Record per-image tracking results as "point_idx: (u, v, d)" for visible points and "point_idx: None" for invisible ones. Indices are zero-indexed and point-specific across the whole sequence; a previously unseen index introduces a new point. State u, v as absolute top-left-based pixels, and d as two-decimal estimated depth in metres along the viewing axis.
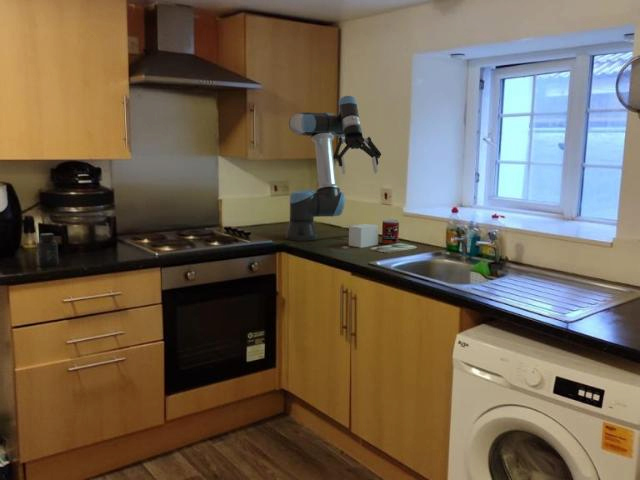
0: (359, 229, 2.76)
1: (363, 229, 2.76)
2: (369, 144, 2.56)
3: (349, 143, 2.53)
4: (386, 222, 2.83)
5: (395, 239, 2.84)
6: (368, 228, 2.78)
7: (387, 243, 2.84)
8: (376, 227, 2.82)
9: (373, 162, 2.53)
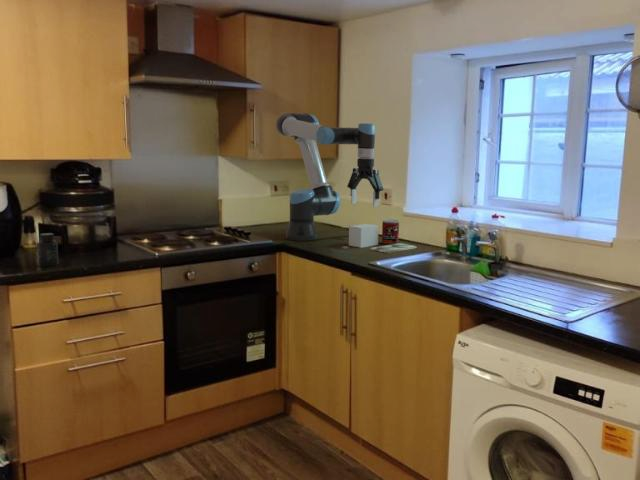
0: (359, 229, 2.76)
1: (363, 229, 2.76)
2: None
3: (358, 176, 2.78)
4: (386, 222, 2.83)
5: (395, 239, 2.84)
6: (368, 228, 2.78)
7: (387, 243, 2.84)
8: (376, 227, 2.82)
9: None
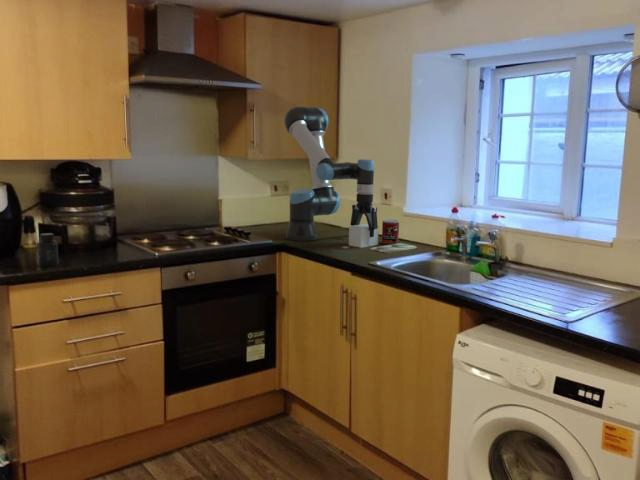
0: (359, 229, 2.76)
1: (363, 229, 2.76)
2: None
3: (358, 212, 2.81)
4: (386, 222, 2.83)
5: (395, 239, 2.84)
6: (368, 228, 2.78)
7: (387, 243, 2.84)
8: None
9: None
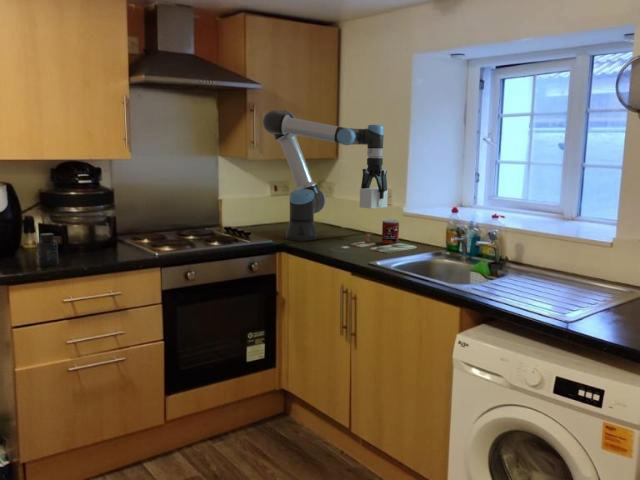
0: (369, 191, 2.90)
1: (373, 191, 2.90)
2: None
3: (368, 175, 2.95)
4: (386, 222, 2.83)
5: (395, 239, 2.84)
6: (378, 190, 2.92)
7: (387, 243, 2.84)
8: None
9: None
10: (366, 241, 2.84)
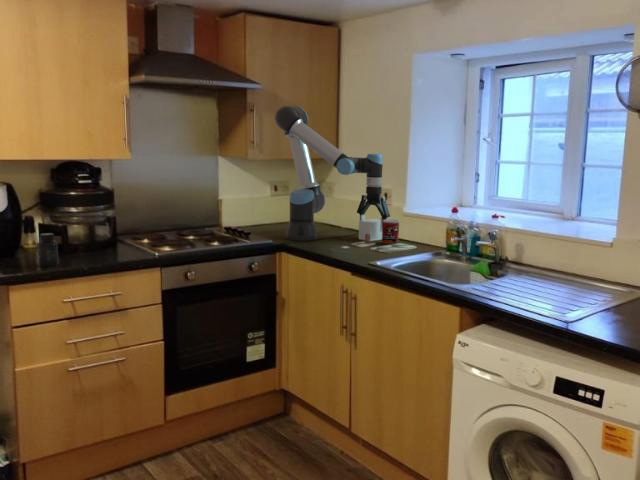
0: (368, 223, 2.93)
1: (372, 223, 2.93)
2: None
3: (366, 202, 2.98)
4: (386, 222, 2.83)
5: (395, 239, 2.84)
6: (377, 223, 2.95)
7: (387, 243, 2.84)
8: None
9: None
10: (366, 241, 2.84)
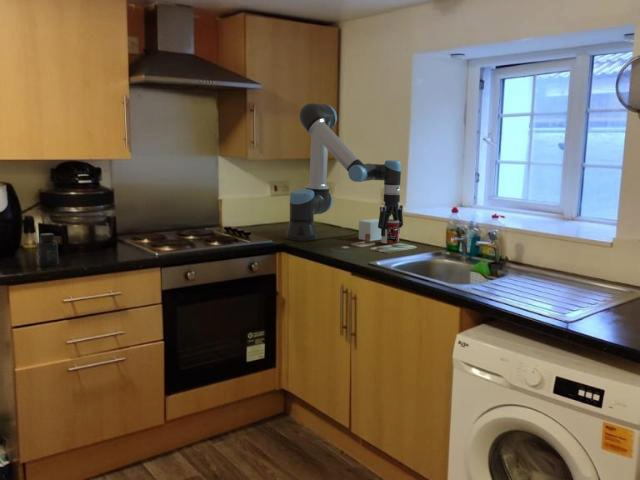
0: (368, 223, 2.93)
1: (372, 223, 2.93)
2: (399, 211, 2.89)
3: (390, 213, 2.83)
4: None
5: (395, 239, 2.84)
6: (377, 223, 2.95)
7: (387, 243, 2.84)
8: None
9: None
10: (366, 241, 2.84)
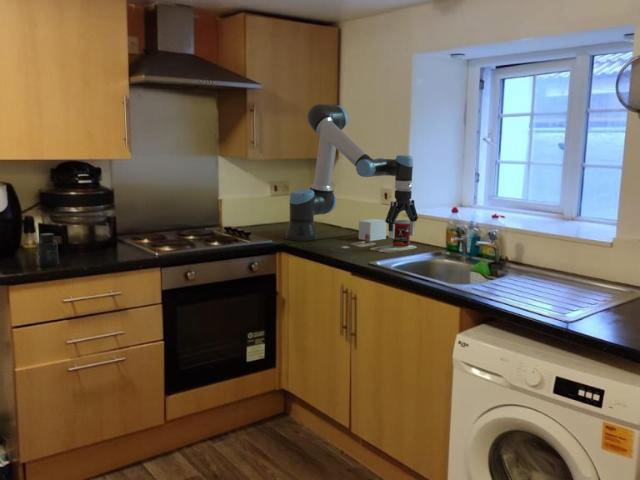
0: (368, 223, 2.93)
1: (372, 223, 2.93)
2: (411, 206, 2.79)
3: (401, 209, 2.72)
4: (397, 223, 2.73)
5: (406, 241, 2.74)
6: (377, 223, 2.95)
7: (398, 245, 2.74)
8: (384, 222, 2.99)
9: (410, 225, 2.81)
10: (366, 241, 2.84)
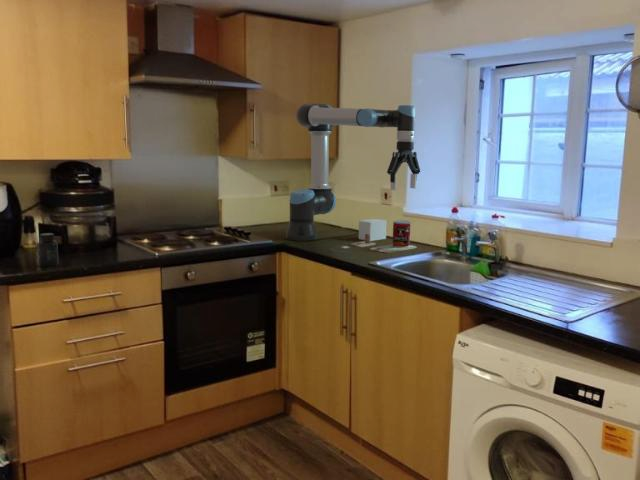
0: (368, 223, 2.93)
1: (372, 223, 2.93)
2: (413, 159, 2.75)
3: (403, 160, 2.68)
4: (397, 223, 2.73)
5: (406, 241, 2.74)
6: (377, 223, 2.95)
7: (398, 245, 2.74)
8: (384, 222, 2.99)
9: (413, 178, 2.77)
10: (366, 241, 2.84)
